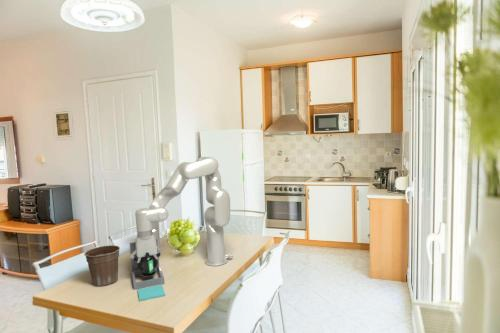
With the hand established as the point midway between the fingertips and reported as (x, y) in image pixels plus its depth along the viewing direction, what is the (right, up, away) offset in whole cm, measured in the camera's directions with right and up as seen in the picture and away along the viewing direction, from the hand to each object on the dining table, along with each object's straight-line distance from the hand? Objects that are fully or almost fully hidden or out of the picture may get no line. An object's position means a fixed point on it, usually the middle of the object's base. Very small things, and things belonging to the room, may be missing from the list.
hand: (148, 267), depth 167 cm
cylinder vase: (-13, -3, +47) cm, 49 cm away
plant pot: (-22, -7, 0) cm, 23 cm away
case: (0, -6, 0) cm, 6 cm away
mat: (+6, -7, -16) cm, 18 cm away
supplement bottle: (0, -3, 0) cm, 4 cm away
